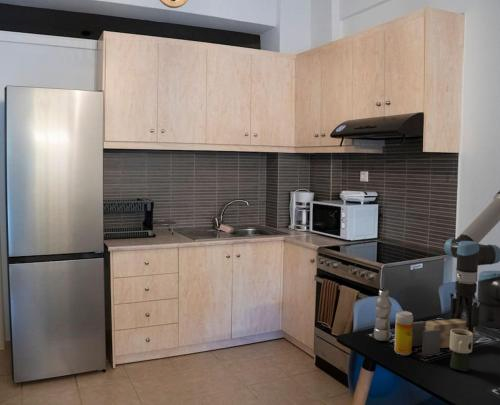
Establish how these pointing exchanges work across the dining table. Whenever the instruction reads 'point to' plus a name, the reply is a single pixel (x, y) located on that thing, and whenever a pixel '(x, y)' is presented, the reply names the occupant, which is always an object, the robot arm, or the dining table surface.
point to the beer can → (403, 333)
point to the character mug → (460, 348)
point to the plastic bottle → (382, 316)
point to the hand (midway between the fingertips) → (462, 340)
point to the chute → (426, 339)
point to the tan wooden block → (447, 329)
